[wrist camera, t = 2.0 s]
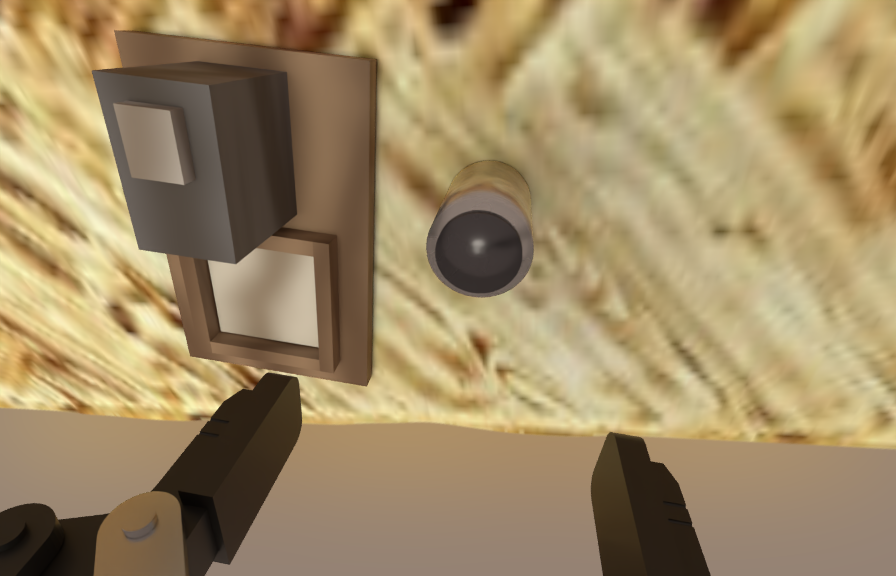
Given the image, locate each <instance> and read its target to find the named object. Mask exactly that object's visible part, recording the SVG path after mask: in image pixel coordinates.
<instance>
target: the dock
mask: <svg viewBox="0 0 896 576" xmlns="http://www.w3.org/2000/svg"><path fill="white" fill-rule="evenodd" d="M114 32H115V36H116V41H117V45H118V49H119V53H120V58H121V62H122V66H123V68H114V69H103V70H92V74H93V78H94V81H95V85H96V89H97V93H98V96H99V100H100V104H101V108H102V112H103V115H104V119H105V123H106V127H107V130H108V134H109V138H110V142H111V145H112V149H113V153H114V157H115V161H116V164H117V168H118V172H119V176H120V179H121V183H122V187H123V191H124V194H125V198H126V202H127V206H128V210H129V213H130V217H131V221H132V225H133V228H134V232H135V236H136V240H137V244H138V247H139V250H146V251H152V252H159V253H165V254H167V259H168V263H169V267H170V272H171V276H172V280H173V284H174V289H175V293H176V297H177V302H178V306H179V310H180V314H181V319H182V323H183V327H184V332H185V336H186V340H187V344H188V349H189V353H190V356H192V357H198V358H204V359H210V360H215V361H221V362H227V363H233V364H239V365H245V366H251V367H256V368H262V369H268V370H274V371H280V372H286V373H291V374H297V375H303V376H309V377H315V378H321V379H326V380H332V381H338V382H344V383H350V384H356V385H361V386H367V385H368V383H369V380H370V378H371V368H372V304H373V241H374V178H375V114H376V59H368V58H360V57H351V56H343V55H334V54H326V53H317V52H309V51H300V50H291V49H283V48H274V47H266V46H257V45H249V44H240V43H232V42H223V41H215V40H206V39H198V38H189V37H181V36H172V35H164V34H155V33H147V32H138V31H114Z"/></svg>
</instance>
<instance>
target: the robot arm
mask: <svg viewBox="0 0 896 576" xmlns="http://www.w3.org/2000/svg"><path fill="white" fill-rule="evenodd" d="M301 426H302V412H301V401H300V389H299V381H298V378H297V377H292V376H287V375H281V374H275V373H266V374H265V375H264V376H263V377H262V378H261V380H260V381H259V382H258V384H257V385H256V386H255V388H254V389H253V390H246V389H242V390H240V391H239V392H237V393H236V394H235V395H233V396H232V397H230V398H229V399H227V400H226V401H224V402H223V403H222V405H221V406H220V407H219V408H218V410H217V411H216V412H215V413H214V415H213V416H212V417H211V420H210V421H208V422H207V423H206V425H205V426H204V427H203V428H202V429H201V431H200V434H199V435H197V436H196V437H195V438H194V440H193V441H192V442H191V443H190V444H189V446H188V447H187V448H186V449H185V451H184V452H183V453H182V454H181V456H180V457H179V458H178V459H177V461H176V462H175V463H174V464H173V466H172V467H171V468H170V469H169V471H168V472H167V473H166V474H165V476H164V477H163V478H162V479H161V480H160V482H159V483H158V484H157V485H156V487H155V488H154V489H153V490H152V491H151V492H146V493H143V494H139V495H137V496H134V497H132V498H130V499H128V500H126V501H125V502H123V503H121V504H120V505H119V506H117V507H116V508H115V509H114V510H113V511H112V512H111V513H109V514H103V515H95V516H86V517H78V518H69V519H61V520H58V519H57V517H56V515H55V513H54V511H53V510H52V509H51V508H50V507H48V506H46V505H43V504H37V503H32V504H24V505H19V506H16V507H13V508H10V509H7V510H5V511H3V512H1V513H0V576H205V574H206V572H207V571H208V569H209V567H210V566H211V564H212V562H213V561H214V562H219V563H224V564H230V563H231V561H232V560H233V558H234V556H235V554H236V552H237V550H238V549H239V547H240V545H241V543H242V541H243V539H244V538H245V536H246V534H247V532H248V530H249V528H250V526H251V525H252V523H253V521H254V519H255V517H256V516H257V514H258V512H259V510H260V508H261V506H262V505H263V503H264V501H265V499H266V497H267V496H268V493H269V492H270V490H271V488H272V486H273V485H274V483H275V481H276V479H277V477H278V475H279V473H280V472H281V470H282V468H283V466H284V464H285V462H286V461H287V459H288V457H289V455H290V453H291V452H292V450H293V447H294V446H295V444H296V442H297V440H298V437H299V434H300V431H301ZM591 499H592V506H593V512H594V519H595V525H596V532H597V539H598V545H599V552H600V559H601V565H602V571H603V576H710V572H709V570H708V567H707V564H706V561H705V558H704V555H703V553H702V549H701V547H700V544H699V541H698V538H697V535H696V532H695V529H694V528H693V527H692V521H691V518H690V515H689V512H688V510H687V509H686V504H685V501H684V498H683V495H682V493H681V490H680V487H679V484H678V482H677V481H676V480H675V478H674V477H673V476H672V474H671V473H670V472H669V471H668V469H667V468H666V467H665V465H664V464H662V463H657V462H651V461H650V458H649V454H648V451H647V448H646V444H645V442H644V440H643V439H642V438H641V437H636V436H630V435H624V434H619V433H613V432H610V433H609V434H608V435H607V437H606V440H605V442H604V445H603V448H602V450H601V453H600V456H599V458H598V461H597V464H596V466H595V469H594V472H593V475H592V482H591Z"/></svg>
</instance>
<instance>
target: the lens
mask: <svg viewBox="0 0 896 576" xmlns="http://www.w3.org/2000/svg"><path fill="white" fill-rule="evenodd" d="M426 250H427V257H428V260H429V263H430V266H431V268H432V270H433V271H434V273H435V274H436V276H437V277H438V278H439V279H440V280H441V281H442V282H443V283H444V284H445V285H446V286H448V287H449V288H451V289H452V290H454V291H456V292H458V293H461V294H464V295H467V296H472V297H491V296H496V295H499V294H502V293H505V292H507V291H508V290H510V289H512V288H513V287H515V286H516V285H517V284H518V283H519V282H520V281H521V280H522V279H523V278H524V277H525V275H526V274H527V272H528V270H529V268H530V266H531V263H532V259H533V229H532V211H531V196H530V191H529V188H528V185H527V183H526V181H525V180H524V178H523V177H522V176H521V174H520V173H519V172H517V171H516V170H515V169H514V168H512V167H511V166H509V165H507V164H505V163H502V162H498V161H480V162H476V163H473V164H471V165H469V166H467V167H465V168H464V169H463V170H461V171H460V172H459V173H458V174H457V175H456V177H455V178H454V179H453V181H452V183H451V185H450V187H449V189H448V191H447V194H446V196H445V198H444V200H443V202H442V204H441V207H440V209H439V211H438V213H437V215H436V217H435V220H434V222H433V224H432V226H431V228H430V230H429V233H428V237H427V243H426Z"/></svg>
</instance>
